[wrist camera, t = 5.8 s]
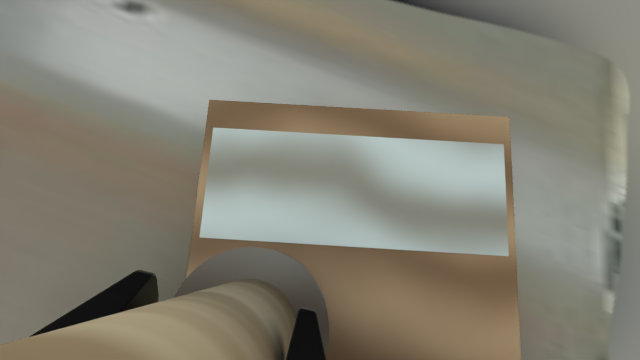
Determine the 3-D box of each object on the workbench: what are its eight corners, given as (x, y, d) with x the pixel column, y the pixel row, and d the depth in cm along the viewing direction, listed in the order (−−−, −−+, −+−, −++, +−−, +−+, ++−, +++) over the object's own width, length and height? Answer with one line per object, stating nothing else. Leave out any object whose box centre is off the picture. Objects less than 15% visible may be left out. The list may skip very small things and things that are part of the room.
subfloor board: (512, 424, 20) (526, 437, 19) (177, 403, 20) (167, 413, 19) (499, 124, 24) (510, 115, 22) (214, 107, 24) (208, 98, 23)
